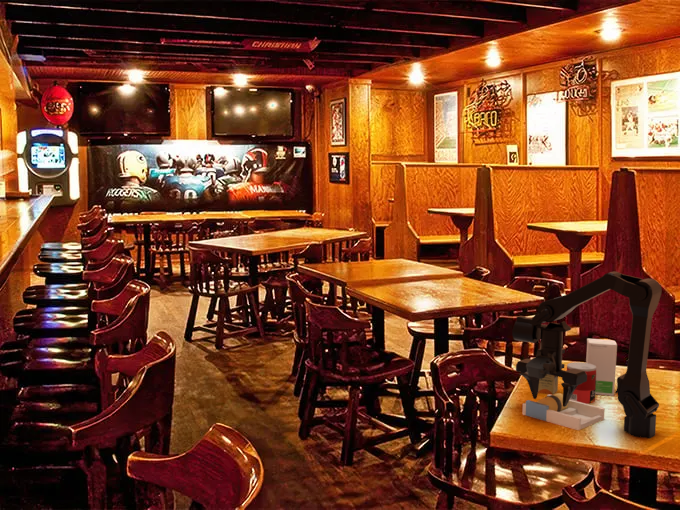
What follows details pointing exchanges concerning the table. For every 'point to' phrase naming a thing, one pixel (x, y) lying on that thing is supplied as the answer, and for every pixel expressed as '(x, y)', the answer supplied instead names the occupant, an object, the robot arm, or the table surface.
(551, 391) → the shoe polish box
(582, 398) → the canned food
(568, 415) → the white storage bin
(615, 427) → the table surface
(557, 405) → the banded tan cylinder
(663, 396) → the table surface
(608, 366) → the skincare box
